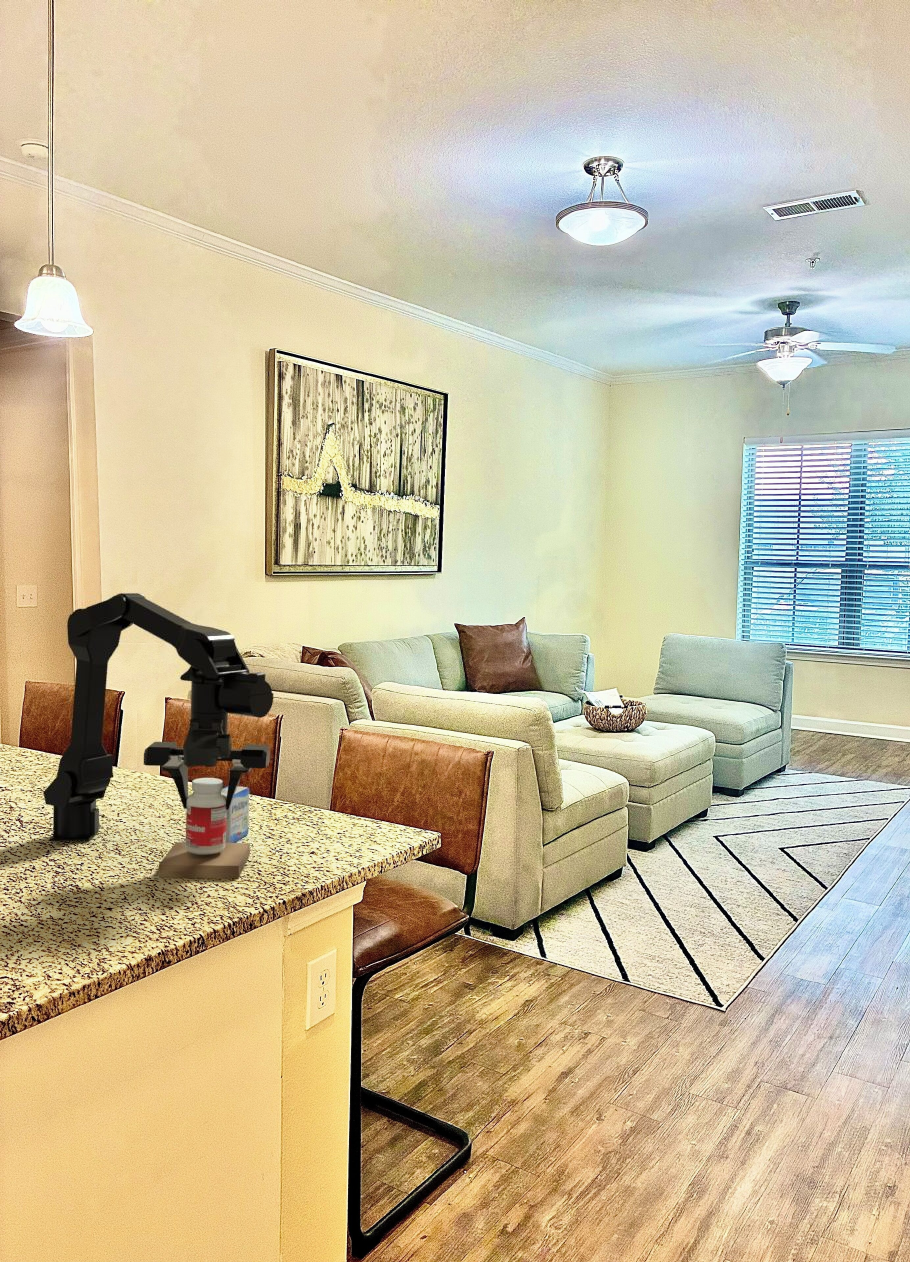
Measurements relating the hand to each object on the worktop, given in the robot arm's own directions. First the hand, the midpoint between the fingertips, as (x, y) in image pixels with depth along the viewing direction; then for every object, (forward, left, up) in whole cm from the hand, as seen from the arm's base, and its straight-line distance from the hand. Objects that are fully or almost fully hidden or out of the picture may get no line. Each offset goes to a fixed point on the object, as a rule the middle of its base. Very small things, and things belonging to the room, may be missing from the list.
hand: (206, 808), depth 150 cm
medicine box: (+1, +15, -10) cm, 18 cm away
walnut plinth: (0, 0, -9) cm, 9 cm away
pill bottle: (0, 0, -7) cm, 7 cm away
